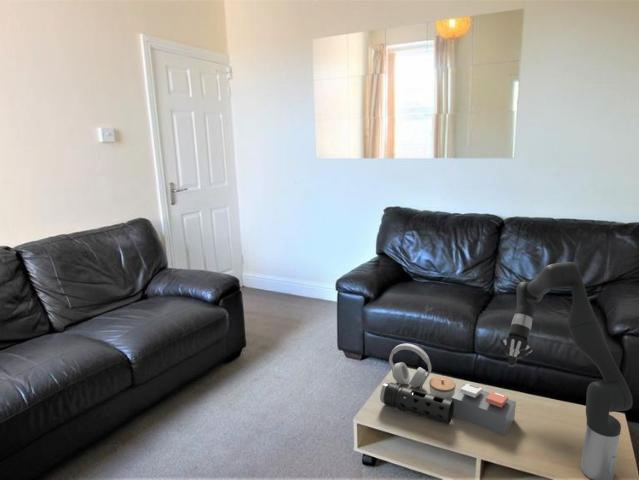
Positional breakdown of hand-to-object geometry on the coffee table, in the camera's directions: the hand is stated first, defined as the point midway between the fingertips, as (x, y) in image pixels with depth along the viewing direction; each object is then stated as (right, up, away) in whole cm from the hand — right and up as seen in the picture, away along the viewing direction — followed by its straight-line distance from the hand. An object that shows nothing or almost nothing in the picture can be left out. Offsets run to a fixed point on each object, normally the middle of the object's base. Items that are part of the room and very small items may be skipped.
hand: (510, 366), depth 177 cm
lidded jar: (-25, -17, +10) cm, 32 cm away
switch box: (-13, -20, -3) cm, 23 cm away
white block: (-17, -10, -2) cm, 20 cm away
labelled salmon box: (-9, -11, -8) cm, 16 cm away
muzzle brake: (-38, -20, +1) cm, 43 cm away
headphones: (-37, -15, +21) cm, 45 cm away
